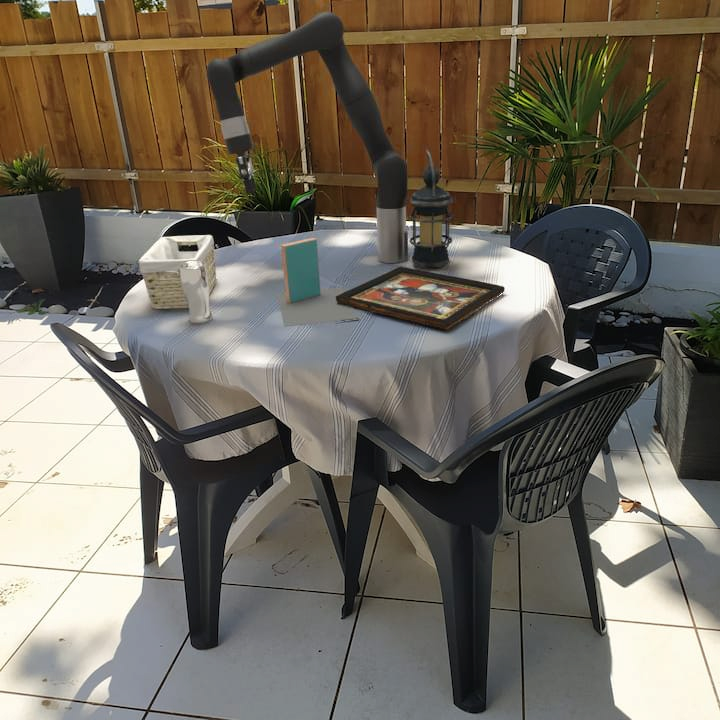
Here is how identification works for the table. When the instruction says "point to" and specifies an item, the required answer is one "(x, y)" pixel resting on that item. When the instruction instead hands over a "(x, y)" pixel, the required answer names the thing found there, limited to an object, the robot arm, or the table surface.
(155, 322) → the table surface
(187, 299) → the beer glass
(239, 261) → the table surface
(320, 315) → the mat
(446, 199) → the lantern
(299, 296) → the tile
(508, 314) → the table surface
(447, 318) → the religious icon
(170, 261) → the storage basket
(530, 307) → the table surface
